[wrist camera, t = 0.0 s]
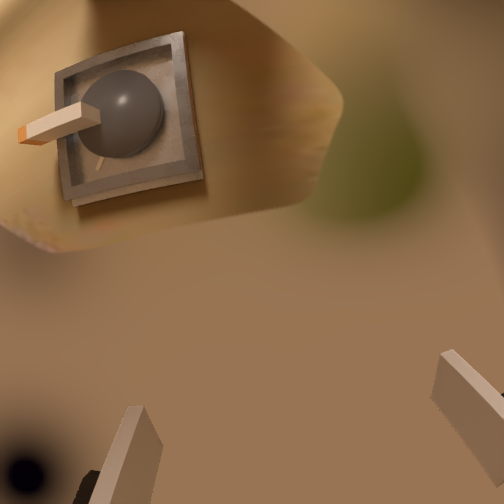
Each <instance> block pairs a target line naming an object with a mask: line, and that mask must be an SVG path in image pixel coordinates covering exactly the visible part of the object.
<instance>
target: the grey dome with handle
mask: <svg viewBox="0 0 504 504" xmlns="http://www.w3.org/2000/svg"><path fill="white" fill-rule="evenodd" d="M163 116H164V103H163V98H162V96H161V93H160V91H159V90H158V88H157V87H156V86H155V85H154V84H153V83H152V82H151V80H150V79H148V78H147V77H146V76H145V75H143V74H141V73H139V72H137V71H133V70H118V71H114V72H111V73H108V74H106V75H104V76H103V77H101V78H100V79H98V80H97V81H96V82H95V83H93V84H92V85H91V86H90V88H89V89H88V90H87V91H86V93H85V94H84V96H83V98H82V100H81V101H80V102H78V103H75V104H73V105H70V106H68V107H65V108H63V109H60V110H58V111H56V112H53V113H51V114H49V115H46V116H44V117H42V118H40V119H38V120H35V121H33V122H31V123H29V124H27V125H25V126H23V127H21V128H19V129H18V143H20V144H31V145H43V144H46V143H48V142H51V141H53V140H56V139H58V138H61V137H64V136H66V135H69V134H72V133H74V132H78V135H79V138H80V140H81V142H82V143H83V145H84V146H85V147H86V148H87V149H88V150H89V151H91V152H92V153H94V154H96V155H98V156H102V157H108V158H126V157H129V156H132V155H134V154H137V153H138V152H140V151H142V150H143V149H144V148H145V147H147V146H148V145H149V144H150V143H151V142H152V140H153V139H154V138H155V136H156V135H157V133H158V131H159V129H160V127H161V124H162V121H163Z"/></svg>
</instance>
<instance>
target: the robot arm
mask: <svg viewBox="0 0 504 504" xmlns="http://www.w3.org/2000/svg"><path fill="white" fill-rule="evenodd" d="M430 398H431V399H432V401H433V402H434V403H435V405H436V406H437V407H438V408H439V410H440V411H441V412H442V414H443V415H444V416H445V418H446V419H447V420H448V421H449V423H450V424H451V426H452V427H453V428H454V430H455V431H456V432H457V434H458V435H459V436H460V438H461V439H462V440H463V442H464V443H465V444H466V446H467V447H468V448H469V450H470V451H471V453H472V454H473V455H474V457H475V458H476V459H477V461H478V462H479V464H480V465H481V466H482V468H483V469H484V471H485V472H486V473H487V475H488V477H489V478H490V479H491V481H492V482H493V484H494V485H495V487H496V488H497V487H498V486H500V485H501V484H503V483H504V393H503V394H501V395H500V394H499V393H498V392H497V391H496V390H495V389H494V388H493V387H492V386H491V385H490V384H489V383H488V382H487V381H486V380H485V379H484V378H483V377H482V376H481V375H480V374H479V373H478V372H477V371H475V370H474V369H473V368H472V367H471V366H470V365H469V364H468V363H467V362H466V361H465V360H464V359H463V358H462V357H460V356H459V355H458V354H457V353H456V352H455V351H454V350H453V349H452V350H449V351H446V352H444V353H441V354H440V357H439V362H438V366H437V371H436V376H435V381H434V385H433V389H432V394H431V397H430ZM162 450H163V444H162V442H161V440H160V438H159V437H158V435H157V432H156V431H155V428H154V426H153V424H152V422H151V420H150V418H149V416H148V414H147V412H146V410H145V407H144V406H128V407H127V409H126V412H125V414H124V416H123V419H122V421H121V423H120V426H119V428H118V431H117V433H116V436H115V438H114V440H113V443H112V445H111V448H110V450H109V452H108V455H107V457H106V460H105V462H104V465H103V467H102V470H101V471H94V470H91V471H90V472H89V473H88V474H87V475H86V476H85V477H84V478H83V479H82V482H81V484H80V487H79V490H78V491H77V494H76V498H75V499H74V501H73V504H150V502H151V497H152V493H153V488H154V484H155V479H156V475H157V471H158V466H159V462H160V458H161V453H162Z"/></svg>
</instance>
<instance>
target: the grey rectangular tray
mask: <svg viewBox="0 0 504 504" xmlns="http://www.w3.org/2000/svg"><path fill="white" fill-rule="evenodd" d="M118 70H133V71H137V72H139V73H141V74H143V75H145V76H146V77H147V78H148V79H150V80H151V82H152V83H153V84H154V85H155V86H156V87H157V88H158V90H159V91H160V93H161V96H162V98H163V103H164V116H163V121H162V124H161V127H160V129H159V131H158V133H157V135H156V136H155V138H154V139H153V140H152V142H151V143H150V144H149V145H148V146H147V147H145V148H144V149H143V150H142V151H140V152H138V153H137V154H134V155H132V156H129V157H126V158H108V157H102V156H98V155H96V154H94V153H92V152H91V151H89V150H88V149H87V148H86V147H85V146H84V145H83V143H82V142H81V140H80V138H79V135H78V132H74V133H72V134H69V135H66V136H64V137H61V138H58V139H57V149H58V159H59V168H60V176H61V183H62V190H63V197H64V201H68V200H72V204H73V207H76V206H80V205H84V204H88V203H92V202H96V201H100V200H104V199H108V198H112V197H117V196H121V195H125V194H130V193H134V192H139V191H144V190H148V189H153V188H158V187H163V186H168V185H173V184H179V183H184V182H189V181H195V180H201V179H204V173H203V167H202V160H201V153H200V146H199V139H198V132H197V125H196V118H195V110H194V102H193V95H192V87H191V79H190V70H189V62H188V53H187V44H186V35H185V32H182V31H180V32H176V33H171V34H167V35H163V36H159V37H155V38H151V39H147V40H143V41H140V42H136V43H133V44H130V45H127V46H123V47H120V48H117V49H114V50H111V51H108V52H105V53H103V54H100V55H97V56H94V57H92V58H89V59H87V60H84V61H82V62H79V63H77V64H74V65H72V66H70V67H67V68H65V69H63V70H61V71H58V72H56V73H55V112H56V111H58V110H60V109H63V108H65V107H68V106H70V105H73V104H75V103H78V102H80V101H81V100H82V98H83V96H84V94H85V93H86V91H87V90H88V89H89V88H90V86H91V85H92V84H93V83H95V82H96V81H97V80H98V79H100V78H101V77H103V76H104V75H106V74H108V73H111V72H114V71H118Z"/></svg>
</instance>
